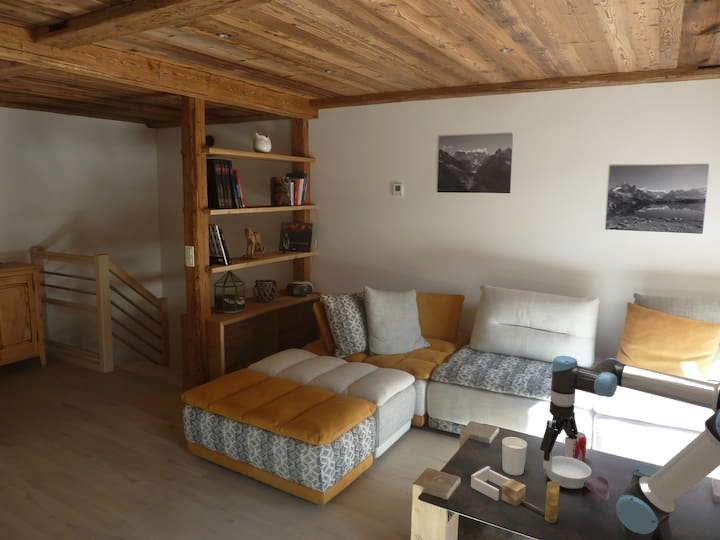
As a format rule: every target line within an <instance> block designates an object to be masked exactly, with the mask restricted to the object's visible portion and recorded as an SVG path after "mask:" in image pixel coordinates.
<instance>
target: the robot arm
mask: <svg viewBox="0 0 720 540" xmlns="http://www.w3.org/2000/svg"><path fill="white" fill-rule="evenodd" d="M551 368H552V369H551V383H550V384H551V386H550V390H549V391H550V401H549V413H550V414H551V415H552V420H549V419H548V420H547V421H546V426H545V427H546V428H545V431H544V434H543V438H542V441H541V444H540V447H539V450H541V451H542V452H543V460H542V461H543V462H542V463H543V464H542V468H543V469H547V470H549V471H551V470H552V458H553V457H554V456H553V455H554V451H553V448H554V446H555V444H556V441H557V439H558V437H559V435H560V434H561V433H562V431H564V432H565V435H566V436H565V438H564V449H563V450H564V451H563V452H564V453H563V454H564V456H566V457H571V458H572V457H573V444H574V439H577V436H575V435H577V434H578V432H579V431H578V427H577V423H576V422H577V421H576V416H575V415H576V414H575V412H574V411H575V399H576V390H577V391H580V392H585V393H589V394H593V395H596V396H599V397H606V398H612V397H613V396H614V395H615V394H616V391H617V387H621V388H625V389H630V390H634V391H637V392H641V393H644V394H645V393H646V394H649V395H653V396H657V397H662V398H666V399H670V400H673V401H678V402H681V403H685V404H689V405H694V406H697V407H701V408H706V409H710V410H712V411H713V412H714V413H713V414H712V415H710V416H709V418H708V419H706V420H705V421H704V430H703V431H702V432H701V433H700V434H698V436H696V437H695V438H694V439H693V440H692V441H691V442H689V443H688V444H686V446H685V447H683V448H682V449H681V450H680V451H679V452H677V454H675V455H674V456H673V457H672V458H671V459H669V460H668V461H667V462H666V463H664V465H663V466H661V467H657V466H653V465H649V464H638V465H637V464H636V465H635V466H634V467H632V468H633V469H632V472H631V473H632V477H631V481H630V482H629V484H628V485H627V487H626V488H625V490H624V491H623V492H622V494H621V495H620V496H619V497H618V498H617V501H616V505H615V512H616V516H617V518H618V520H619V521H620V523H621V532H622V533H623V535H624V536H625V537H626V538H628V540H674V532H673V528H672V525H671V524H672V523H671V521H670V514H671V513H673V512H674V510H675V508H676V506H675V502H677V500H678V499H680V498H681V497H683V495H684V494H686V493H687V492H688V491H690V490H691V489H692V488H693V487H695V486H696V485H697V484H699V483H700V482H701V481H703V480H704V479H705V478H706V477H708V476H709V475H710V474H711V473H712V472H713V471H715V470H716V469H717V468H719V467H720V382H718V383H711V382H707V381H702V380H699V379H694V378H688V377H684V376H679V375H676V374H675V375H674V374H670V373H667V372H666V373H665V372H661V371H657V370H653V369H647V368H642V367H638V366H634V365H628V364H625V363H622V361H620V360H618V359H617V358H614V357H608V358H605V359H603V360H600V362H599V363H598V364H596V365H595V366H593V367H592V368H589V367H583V366H581V365H580V366H579V364H578V360H577V358H575V357H572V356H568V355H557V356H556V357H554V358H553V360H552V367H551Z"/></svg>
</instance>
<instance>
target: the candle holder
mask: <svg viewBox="0 0 720 540" xmlns="http://www.w3.org/2000/svg"><path fill="white" fill-rule="evenodd" d="M501 448H502V449H501V452H502V453H501V458H502V459H501V460H502V462H501V463H502V464H501V465H502V467H501V468H502V471H503V472H504V473H506V474H507V475H509V476H520V475H523V474H524V471H525V464H526V457H527V448H528V443H527V441H526V440H524V439H522V438H519V437H516V436H506V437H504V438H502V439H501Z"/></svg>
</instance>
